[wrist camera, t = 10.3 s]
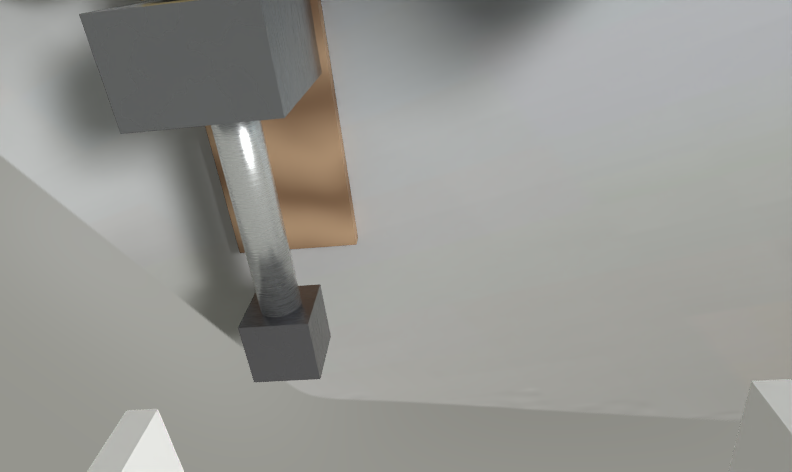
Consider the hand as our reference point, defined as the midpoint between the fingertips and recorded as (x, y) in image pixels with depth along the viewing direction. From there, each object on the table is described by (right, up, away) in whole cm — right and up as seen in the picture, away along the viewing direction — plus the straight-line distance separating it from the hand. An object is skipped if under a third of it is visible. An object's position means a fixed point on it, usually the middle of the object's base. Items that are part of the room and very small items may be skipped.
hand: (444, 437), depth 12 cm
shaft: (-10, +7, +26) cm, 29 cm away
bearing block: (-11, +19, +25) cm, 33 cm away
